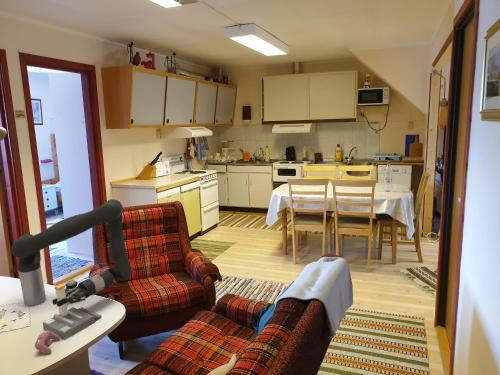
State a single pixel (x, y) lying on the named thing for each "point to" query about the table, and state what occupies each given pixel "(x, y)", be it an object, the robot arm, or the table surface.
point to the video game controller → (45, 341)
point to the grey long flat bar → (91, 313)
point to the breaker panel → (69, 323)
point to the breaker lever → (61, 295)
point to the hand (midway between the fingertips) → (55, 303)
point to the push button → (71, 284)
